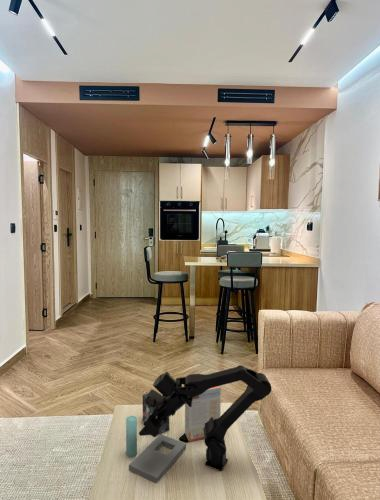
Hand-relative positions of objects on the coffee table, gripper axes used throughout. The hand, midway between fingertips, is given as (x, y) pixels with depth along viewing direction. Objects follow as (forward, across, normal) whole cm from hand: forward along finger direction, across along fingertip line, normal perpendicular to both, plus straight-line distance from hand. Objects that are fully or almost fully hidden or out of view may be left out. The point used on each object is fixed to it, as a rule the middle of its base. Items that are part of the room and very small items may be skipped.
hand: (144, 426), depth 124 cm
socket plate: (+4, 0, +12) cm, 13 cm away
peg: (+12, 0, +5) cm, 13 cm away
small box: (+10, -20, +7) cm, 23 cm away
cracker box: (-5, -18, +22) cm, 29 cm away
